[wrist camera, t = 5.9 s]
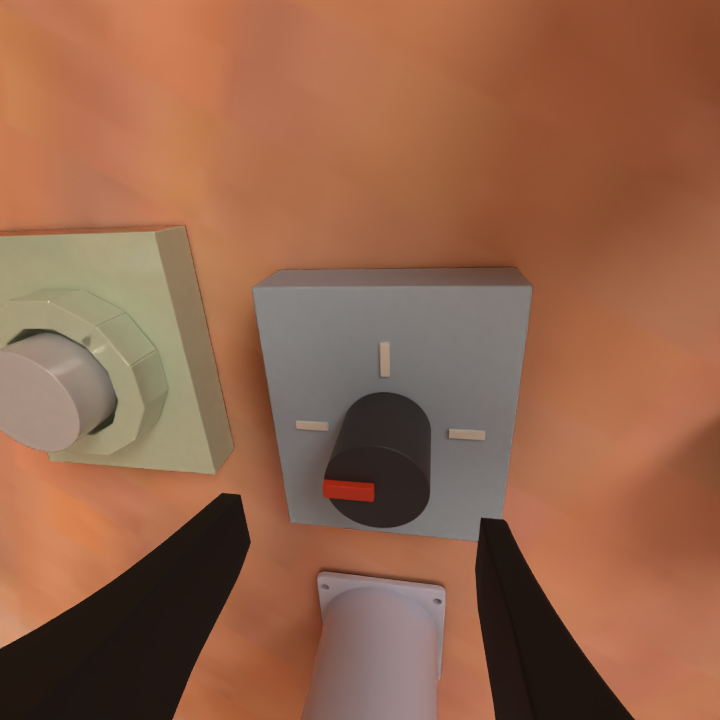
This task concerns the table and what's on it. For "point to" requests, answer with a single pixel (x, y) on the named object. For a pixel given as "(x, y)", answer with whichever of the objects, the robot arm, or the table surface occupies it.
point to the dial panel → (397, 378)
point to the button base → (125, 338)
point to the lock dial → (381, 462)
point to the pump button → (52, 392)
